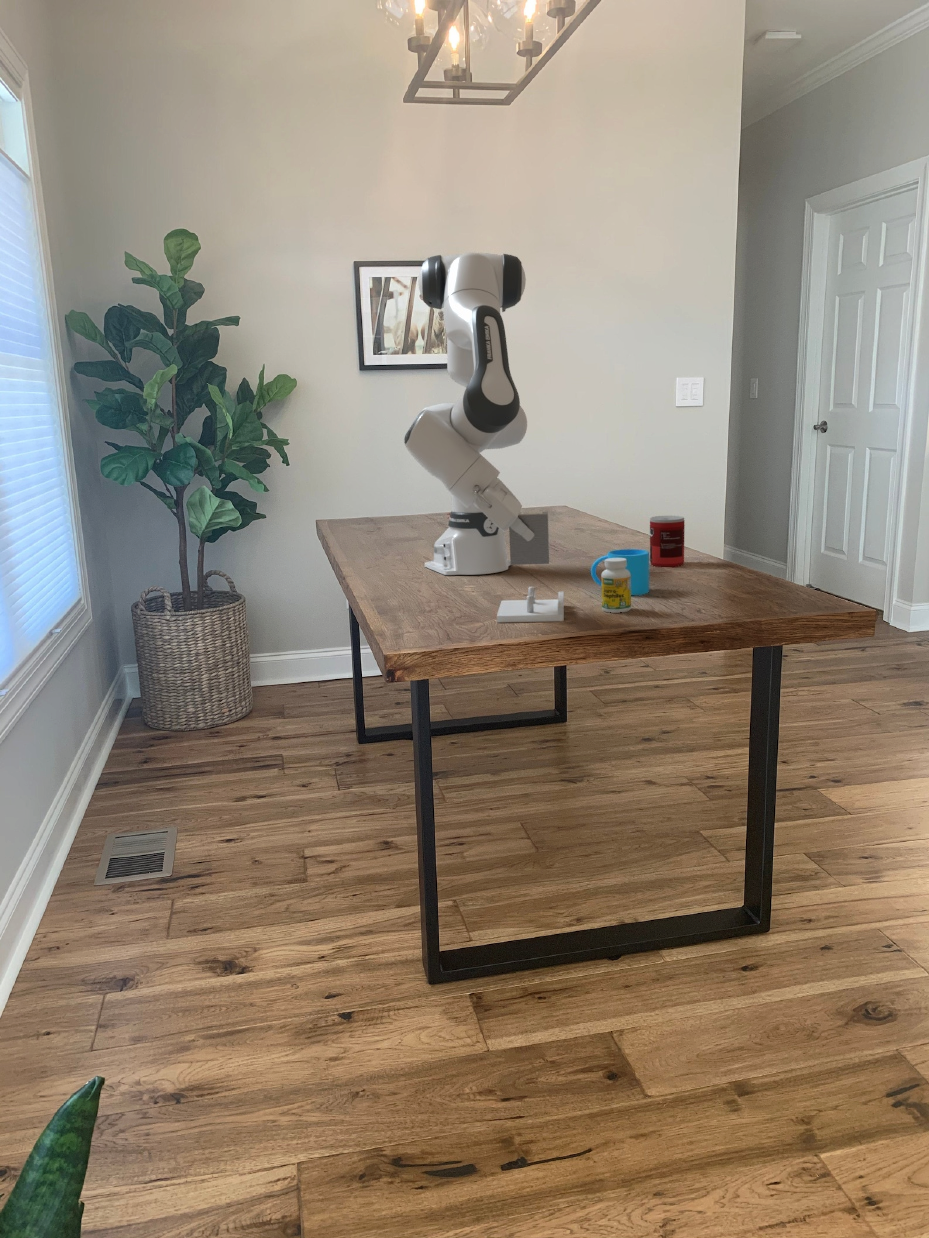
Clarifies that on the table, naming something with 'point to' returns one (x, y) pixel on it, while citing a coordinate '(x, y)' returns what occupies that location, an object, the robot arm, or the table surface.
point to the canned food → (667, 541)
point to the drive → (537, 546)
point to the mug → (630, 568)
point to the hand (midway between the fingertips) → (532, 536)
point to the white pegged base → (532, 609)
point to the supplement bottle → (616, 586)
